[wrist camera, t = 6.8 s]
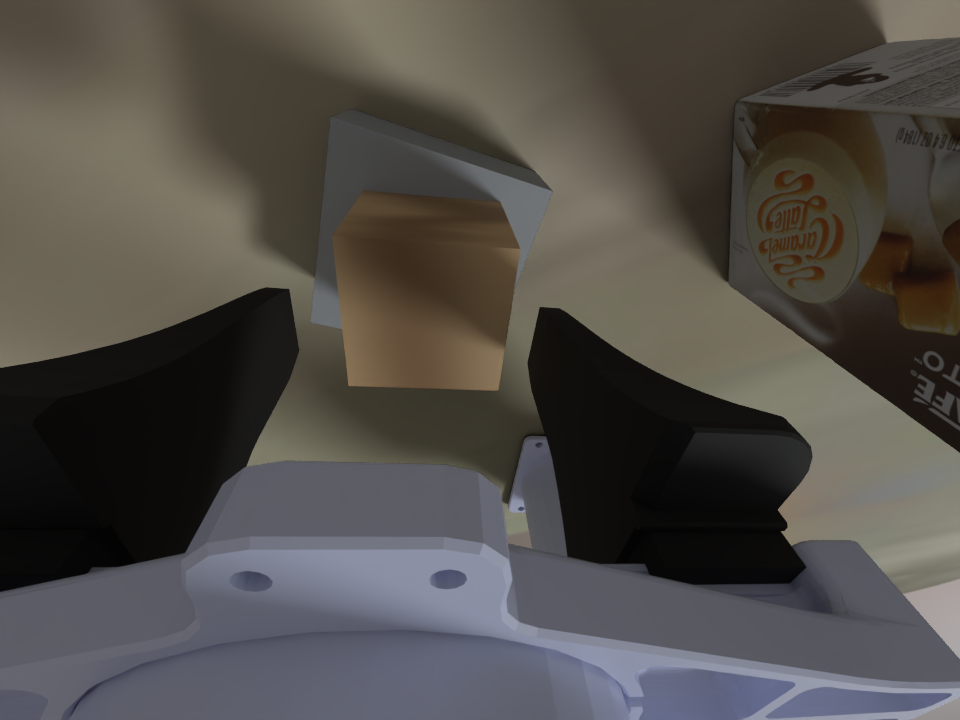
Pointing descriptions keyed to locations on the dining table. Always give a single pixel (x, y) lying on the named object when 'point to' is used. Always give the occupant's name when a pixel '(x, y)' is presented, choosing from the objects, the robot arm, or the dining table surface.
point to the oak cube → (425, 290)
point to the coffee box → (860, 219)
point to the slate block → (412, 187)
